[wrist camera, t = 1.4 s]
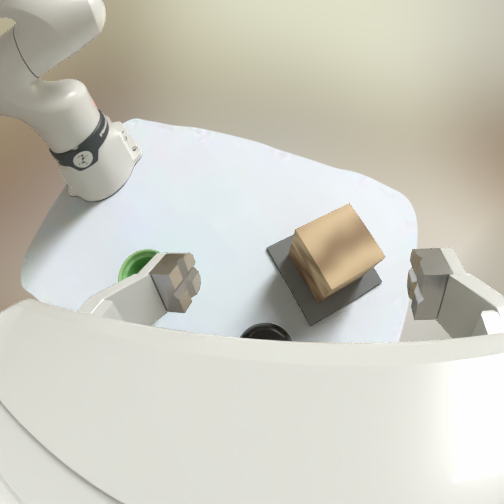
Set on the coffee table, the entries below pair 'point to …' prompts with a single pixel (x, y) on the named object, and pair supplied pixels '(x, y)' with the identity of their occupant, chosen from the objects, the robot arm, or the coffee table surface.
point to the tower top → (336, 249)
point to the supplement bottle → (266, 332)
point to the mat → (303, 294)
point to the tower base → (308, 277)
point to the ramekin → (136, 263)
